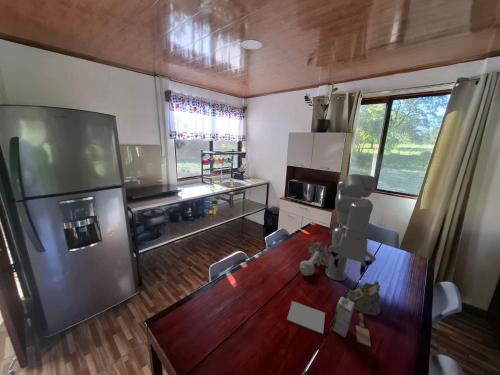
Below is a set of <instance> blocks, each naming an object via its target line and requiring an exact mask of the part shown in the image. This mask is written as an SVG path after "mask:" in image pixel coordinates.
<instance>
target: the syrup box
mask: <svg viewBox="0 0 500 375" xmlns="http://www.w3.org/2000/svg"><path fill="white" fill-rule="evenodd" d="M354 304H355V303H353V302H352V301H350V300H348V299H347V297H346V298H345V297H344V296H341V297H340V299H339V300H338V302H337V304H336V308H335V313H334V317H333V318H334V319H333V324H332V327H331V330H332V331H333V332H334V333H336V334H338V335H339V336H342V337H343V338H346V336H347V334H348V331H349V329H350V325H351V320H352V316H353V312H354V309H353V308H354Z"/></svg>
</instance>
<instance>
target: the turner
mask: <svg viewBox="0 0 500 375" xmlns="http://www.w3.org/2000/svg"><path fill="white" fill-rule="evenodd" d="M358 319H359V320H358V321H359V323H358V324H359V325H357V324H356V325H355V330H356V331H355V333H356V342H357V343H358V344H361V345H363V346H366V347H370V348H371V346H372V344H371V337H370V329H368V328H365V320H364V319H365V318H364V313H361V312H359V313H358Z"/></svg>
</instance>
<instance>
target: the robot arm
mask: <svg viewBox="0 0 500 375" xmlns="http://www.w3.org/2000/svg"><path fill="white" fill-rule="evenodd" d="M336 186H337V187H336V192H337V193H336V196H335V200H334V203H335V205H334V206H335V209H336V211H337V216H336V220H337V221H336V222H337V224H338V225H339V226H340V225H341V226H343V227H334V228H333V230H332V231H331V232H332V236H331V238H332V240H331V245H330V246H329V247H328V248H329V249H328V250H329V252H330V254H329V262H328V267H326V268H325V270H324V273H325V275H326V276H327V277H328V278H329V279H332V280H334V281H337V282H344V281H345V280H346V279H347V278H348V277H347V276H348V275H347V273H346V272H345V271H346V267H347V260H348V259H349V260H352V261H356V262H360V263H361V264H360V267H359V268H360V269H359V275H360V276H363V274H365V272H366V268H367V267H368V266H371V265H372V264H373V263H374V262H375V261H376V260H377V259H376V256H374V255H373V254H371V253H370V252H368V237H371V235H372V234H371V232H368V228H369V224H370V223H369V222H370V218H371V215H372V212H373V208H374V205H373V202H372V200H370V199H367V198H369V197H370V196H371V195H372V194H373V193H374V192H375V190H376V189H377V180H376V178H375V177H374V176H372V175H368V174H366V175H365V174H359V173H358V174H357V173H353V174H348V175H346V177H345V179H344V180H340V181H339V182H338V183H337V185H336ZM344 226H345V227H344ZM366 257H367V258H369V259H368V260H366Z"/></svg>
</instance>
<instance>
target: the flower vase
mask: <svg viewBox="0 0 500 375" xmlns="http://www.w3.org/2000/svg"><path fill="white" fill-rule="evenodd" d="M322 244H323V241H321V242H314V243H313V242H311V243H310V246H308V247H307V249H308V253H310V254H311V255H310V256H309V257H310V259H309V260H302V261H301V262H300V263H299V271H300V273H301V274H302V275H304V276H306V277H307V276H312V275H314V272H315V266H314V265H317V267H320V266H321V265H323V266H324V263H323V262H322V261H324V262H326V261H327V260H326V257H329V254H328V250H329V249H328V248H327V245H325V246H322V247H321V245H322ZM315 246H316V247H315Z"/></svg>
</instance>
